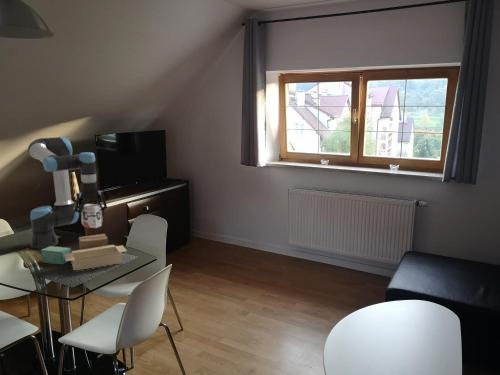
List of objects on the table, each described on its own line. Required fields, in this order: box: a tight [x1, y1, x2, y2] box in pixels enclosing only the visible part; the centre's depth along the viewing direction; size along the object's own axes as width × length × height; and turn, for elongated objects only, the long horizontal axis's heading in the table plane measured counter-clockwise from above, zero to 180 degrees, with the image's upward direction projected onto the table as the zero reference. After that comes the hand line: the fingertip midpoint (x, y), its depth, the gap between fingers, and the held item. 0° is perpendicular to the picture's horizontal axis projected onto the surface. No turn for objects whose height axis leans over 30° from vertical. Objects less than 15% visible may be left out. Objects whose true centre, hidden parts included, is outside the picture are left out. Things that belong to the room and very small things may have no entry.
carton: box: [64, 244, 128, 270], centre depth 221 cm, size 19×30×8 cm, turn 118°
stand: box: [78, 233, 109, 250], centre depth 234 cm, size 10×14×10 cm
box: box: [40, 246, 72, 265], centre depth 224 cm, size 7×14×8 cm, turn 76°
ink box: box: [81, 203, 102, 229], centre depth 223 cm, size 8×5×12 cm, turn 72°
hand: (92, 222), depth 224 cm, fingers closed on ink box, 9 cm apart
